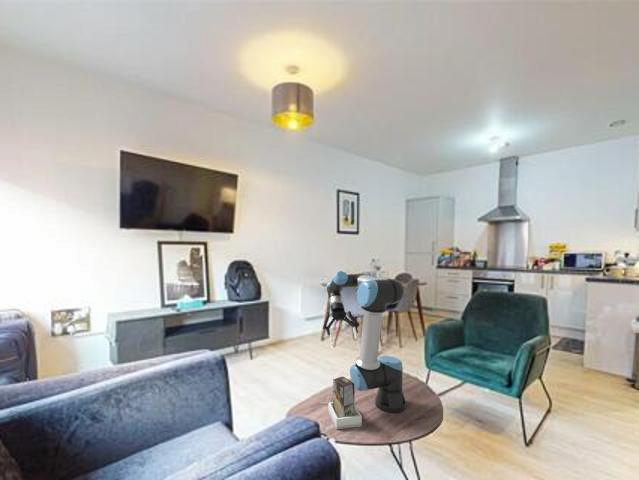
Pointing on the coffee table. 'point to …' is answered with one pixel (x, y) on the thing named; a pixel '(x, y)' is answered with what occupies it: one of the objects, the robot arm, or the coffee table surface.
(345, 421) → the box
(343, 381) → the coffee box
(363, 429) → the coffee table surface
